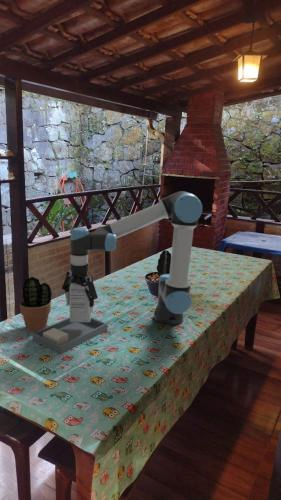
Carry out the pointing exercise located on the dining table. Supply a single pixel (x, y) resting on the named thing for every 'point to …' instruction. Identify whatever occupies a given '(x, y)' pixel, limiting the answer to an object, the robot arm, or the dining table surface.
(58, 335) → the beige block
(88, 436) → the dining table surface
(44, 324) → the potted plant
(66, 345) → the grey shallow rectangular tray
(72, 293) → the supplement box
